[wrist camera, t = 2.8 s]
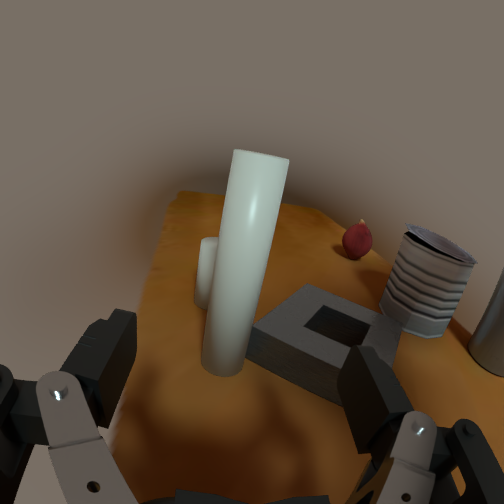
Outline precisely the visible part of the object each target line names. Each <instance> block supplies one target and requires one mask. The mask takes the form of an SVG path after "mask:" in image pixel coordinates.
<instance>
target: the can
mask: <svg viewBox="0 0 504 504" xmlns="http://www.w3.org/2000/svg"><path fill="white" fill-rule="evenodd" d="M406 226H407V227H408V229H409V231H408V232H406V233H404V236H403V239H402V242H401V245H400V248H399V251H398V254H397V257H396V260H395V263H394V265H393V268H392V271H391V274H390V277H389V279H388V282H387V285H386V287H385V290H384V292H383V295H382V298H381V300H380V303H379V307H380V309H381V311H382V313H383V315H385V316H387V317H390V318H392V319H394V320H397V321H399V322H402V323H403V327H402V331H404V332H407V333H410V334H413V335H416V336H419V337H422V338H425V339H429V338H437V337H442V335H443V333H444V331H445V330H446V328H447V326H448V324H449V322H450V319H451V317H452V315H453V313H454V311H455V309H456V307H457V305H458V302H459V300H460V298H461V296H462V293H463V291H464V289H465V286H466V284H467V282H468V279H469V277H470V274H471V271H472V269H473V266H474V263H477V262H476V261H475V259H474V258H473V257H472V256H471V255H470V254H469V253H468V252H467V251H465V250H464V249H462V248H461V247H459V246H458V245H456V244H454V243H453V242H451V241H450V240H448V239H447V238H445V237H442V236H440V235H438V234H436V233H434V232H432V231H429V230H427V229H425V228H423V227H420V226H415V225H410V224H406Z"/></svg>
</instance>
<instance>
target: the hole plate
mask: <svg viewBox="0 0 504 504" xmlns="http://www.w3.org/2000/svg"><path fill="white" fill-rule="evenodd" d="M402 327H403V323H402V322H399V321H397V320H394V319H392V318H390V317H387V316H385V315H382V314H380V313H377V312H375V311H373V310H370V309H368V308H365V307H363V306H361V305H358V304H356V303H353V302H351V301H348V300H346V299H344V298H341V297H339V296H336V295H334V294H332V293H329V292H327V291H324V290H322V289H320V288H317V287H315V286H312V285H310V284H308V283H307V284H306V285H304V286H303V287H302V288H300V289H299V290H298V291H297V292H295V293H294V294H293V295H292V296H290V297H289V298H288V299H286V300H285V301H284V302H283V303H281V304H280V305H279V306H277V307H276V308H275V309H273V310H272V311H271V312H269V313H268V314H267V315H265V316H264V317H263V318H261V319H260V320H259V321H257V322H256V323H255V324H253V326H252V330H251V334H250V338H249V342H248V347H247V351H246V355H245V358H247V359H249V360H251V361H253V362H254V363H256V364H258V365H260V366H262V367H264V368H265V369H267V370H269V371H271V372H273V373H275V374H277V375H279V376H281V377H282V378H284V379H286V380H288V381H290V382H292V383H294V384H296V385H298V386H300V387H302V388H304V389H306V390H308V391H310V392H312V393H314V394H317V395H319V396H321V397H323V398H325V399H327V400H329V401H331V402H333V403H336V404H338V405H340V406H342V407H343V405H342V402H341V399H340V396H339V393H338V390H337V377H338V374H339V372H340V370H341V368H342V366H343V364H344V362H345V359H346V357H347V355H348V353H349V351H350V349H351V347H352V346H353V345H361V346H372V347H373V348H374V349H375V351H376V353H377V355H378V356H379V358H380V359H382V360H383V361H385V362H386V363H387V364H388V365H389V366H390V367H391V369H392V365H393V362H394V358H395V355H396V351H397V347H398V343H399V339H400V335H401V331H402Z"/></svg>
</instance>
